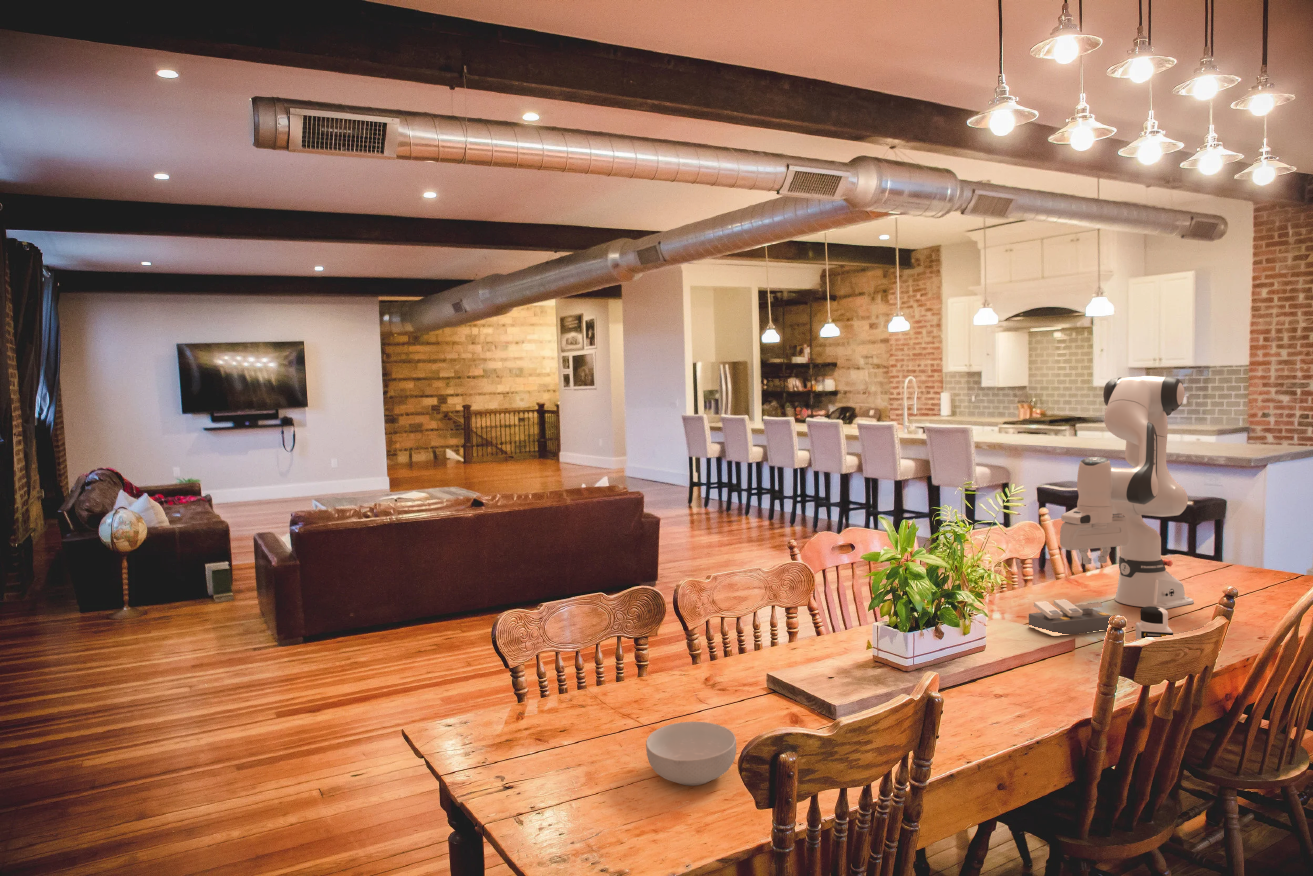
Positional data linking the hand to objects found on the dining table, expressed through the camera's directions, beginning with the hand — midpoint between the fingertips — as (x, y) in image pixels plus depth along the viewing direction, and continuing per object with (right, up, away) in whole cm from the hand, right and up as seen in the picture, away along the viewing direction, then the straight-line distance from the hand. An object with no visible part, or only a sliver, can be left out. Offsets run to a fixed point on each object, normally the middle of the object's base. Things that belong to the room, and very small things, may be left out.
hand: (1094, 563), depth 230 cm
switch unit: (-5, -19, +3) cm, 20 cm away
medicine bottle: (+4, -20, -21) cm, 29 cm away
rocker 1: (-13, -13, +1) cm, 19 cm away
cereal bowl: (-118, -28, -79) cm, 145 cm away
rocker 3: (0, -13, +4) cm, 13 cm away
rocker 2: (-7, -13, +2) cm, 15 cm away
